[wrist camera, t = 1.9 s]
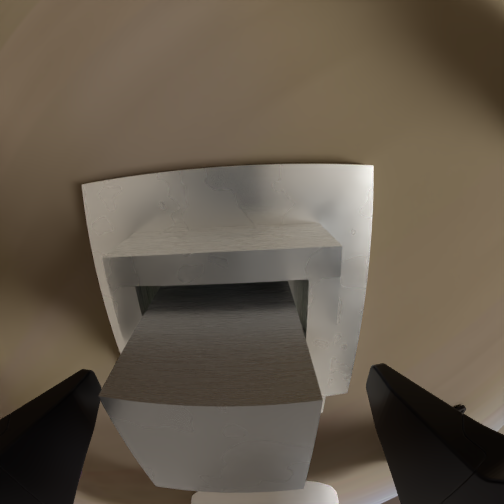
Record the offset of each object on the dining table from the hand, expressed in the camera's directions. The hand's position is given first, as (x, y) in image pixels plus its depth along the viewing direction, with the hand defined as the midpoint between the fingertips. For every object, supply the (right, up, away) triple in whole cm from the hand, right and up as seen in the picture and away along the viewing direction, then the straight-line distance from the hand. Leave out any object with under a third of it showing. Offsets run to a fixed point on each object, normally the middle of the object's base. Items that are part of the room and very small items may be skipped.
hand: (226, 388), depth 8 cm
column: (0, +1, +4) cm, 4 cm away
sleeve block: (0, +2, +5) cm, 6 cm away
